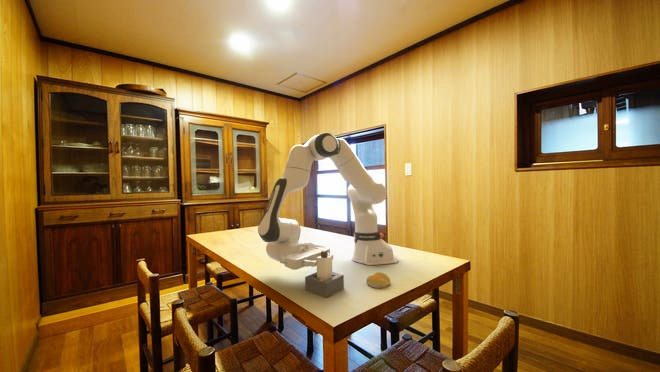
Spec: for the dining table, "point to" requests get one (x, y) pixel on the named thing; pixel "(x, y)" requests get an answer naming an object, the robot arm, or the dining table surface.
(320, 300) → the dining table surface
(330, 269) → the plug
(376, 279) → the bread roll
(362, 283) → the dining table surface
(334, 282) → the socket block
